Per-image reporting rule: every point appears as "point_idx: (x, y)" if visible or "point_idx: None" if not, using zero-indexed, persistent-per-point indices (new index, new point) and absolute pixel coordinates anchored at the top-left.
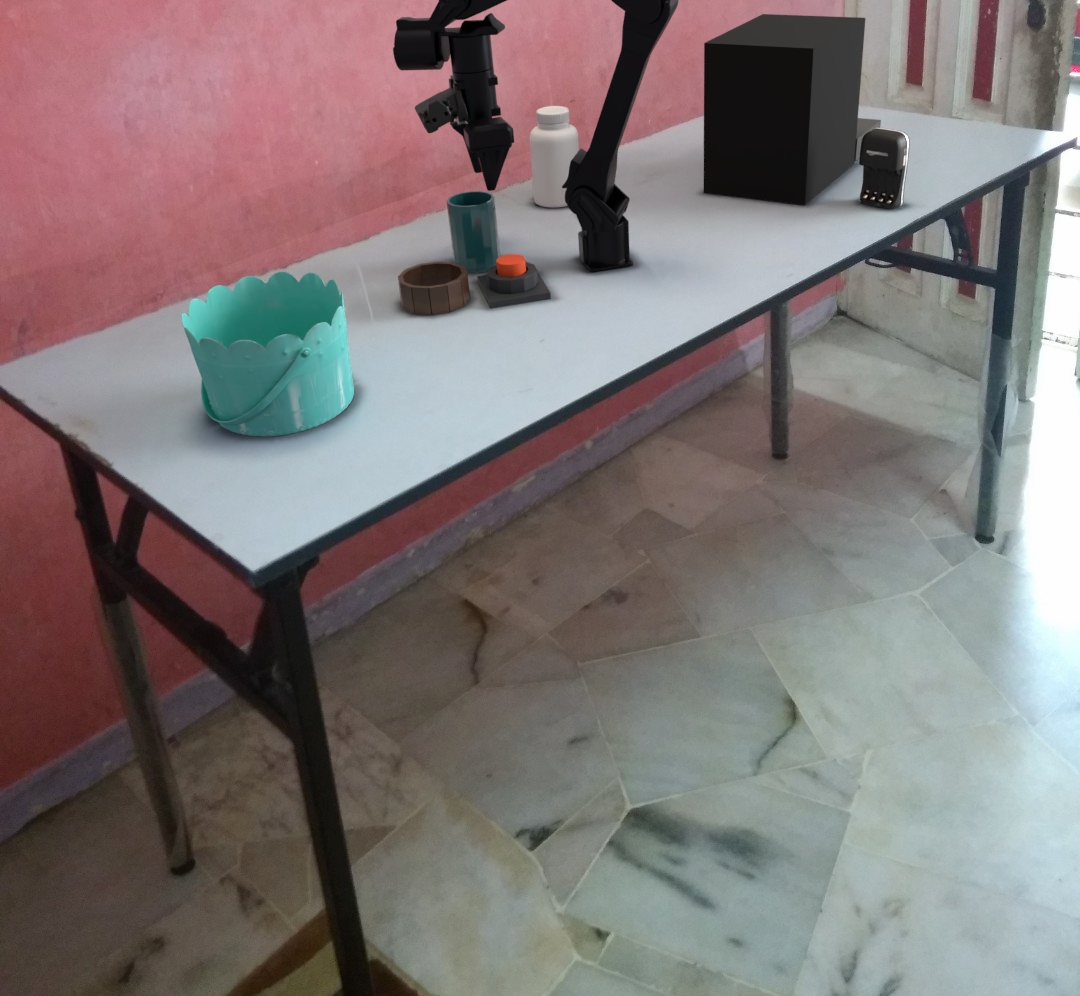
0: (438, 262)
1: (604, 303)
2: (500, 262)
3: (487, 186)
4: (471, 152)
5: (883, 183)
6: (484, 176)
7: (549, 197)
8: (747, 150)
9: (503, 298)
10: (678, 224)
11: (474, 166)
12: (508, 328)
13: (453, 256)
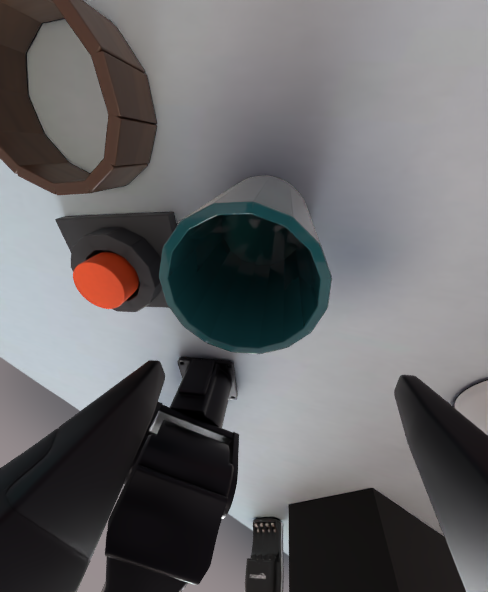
0: (112, 124)
1: (92, 343)
2: (81, 267)
3: (136, 371)
4: (472, 476)
5: (264, 541)
6: (92, 403)
7: (483, 401)
8: (340, 563)
9: (69, 242)
10: (295, 449)
11: (414, 399)
12: (3, 230)
13: (262, 177)
